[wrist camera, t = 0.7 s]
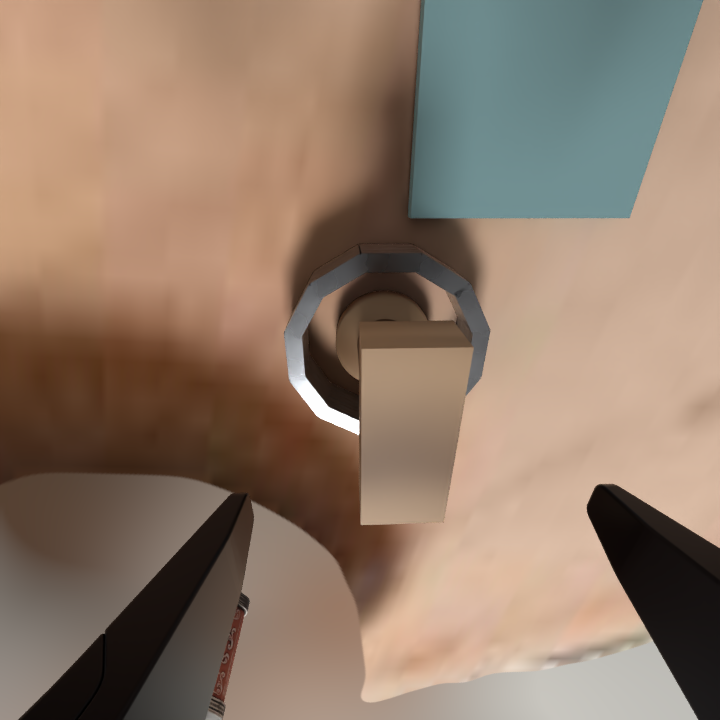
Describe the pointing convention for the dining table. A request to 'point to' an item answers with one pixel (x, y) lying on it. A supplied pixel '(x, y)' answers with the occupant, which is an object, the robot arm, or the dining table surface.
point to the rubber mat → (541, 104)
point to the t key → (404, 405)
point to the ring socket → (340, 271)
